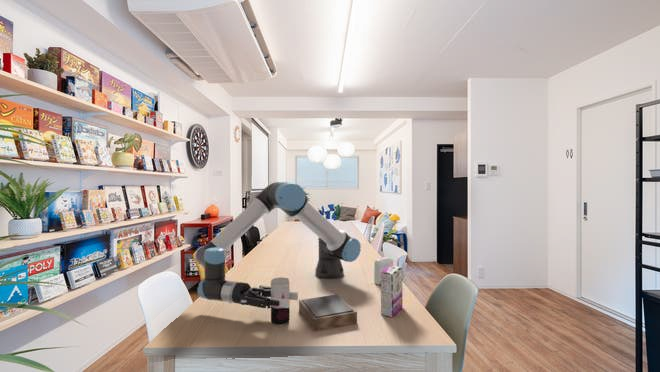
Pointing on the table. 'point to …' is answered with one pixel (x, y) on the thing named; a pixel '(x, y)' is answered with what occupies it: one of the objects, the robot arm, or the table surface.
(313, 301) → the walnut stand
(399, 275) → the candy bar box
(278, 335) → the table surface
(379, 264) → the photo printer
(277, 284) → the beverage can
